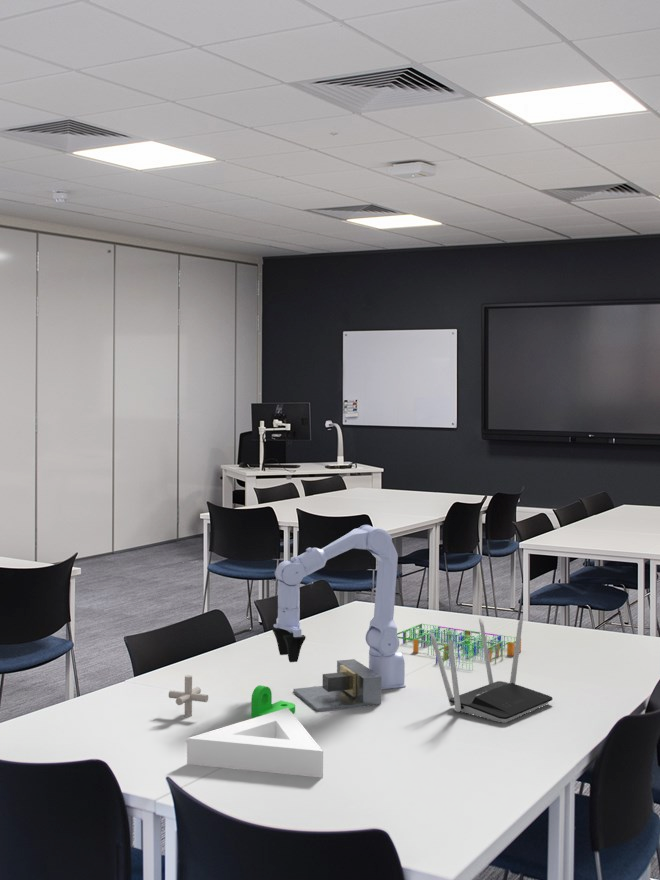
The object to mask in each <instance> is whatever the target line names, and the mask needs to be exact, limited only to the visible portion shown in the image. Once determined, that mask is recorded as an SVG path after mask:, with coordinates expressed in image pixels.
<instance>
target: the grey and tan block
mask: <svg viewBox="0 0 660 880" xmlns="http://www.w3.org/2000/svg"><path fill="white" fill-rule="evenodd" d="M322 686H323V688H324V689H325V690H326V691H328V692H332V691H341V690H344V691H346V692H347V693H348V694H350V695H351V696H353V697H356V673H354V672H353V671H351V670H350V669H348V668H347V667H345V666H344V665H340V672H339V673H337V672H332V673H330V672H329V673H322Z"/></svg>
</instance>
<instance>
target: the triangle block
mask: <svg viewBox="0 0 660 880" xmlns="http://www.w3.org/2000/svg"><path fill="white" fill-rule="evenodd" d="M186 754H187V755H186V764H187V765H193V766H203V767H204V766H205V767H214V768H223V769H235V770H244V771H253V772H264V773H272V774H273V773H275V774H283V775H284V774H285V775H293V776H303V777H304V776H305V777H314V778H315V777H316V778H322V779H323V778H324V750H323V749H322V748H321V747H320V745H319V744H318V743H317V742H316V741H315V739H314V738H313V737H312V736H311V734H310V733H309V732H308V730H307V729H306V728H305V727H304V726H303V724H302V723H301V722H300V721H299V720H298V718H297V717H296V716H295V714H293V713H292V712H291V711H290V710H289V708H285V709H282V710H279V711H275V712H272V713H269V714H265V715H262V716H259V717H256V718H252V719H251V718H249V719H246V720H243V721H239V722H236V723H233V724H229V725H226V726H222V727H221V728H216V729H214V730H210V731H206V732H203V733H199V734H197V735H193V736H191V737H187V738H186Z"/></svg>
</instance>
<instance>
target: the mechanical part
mask: <svg viewBox="0 0 660 880" xmlns="http://www.w3.org/2000/svg"><path fill="white" fill-rule="evenodd" d="M251 693H252V694H251V698H250V699H251V700H250V701H251V702H250V703H251V704H250V705H251V711H250V713H251V714H250V715H251V717H250V719H252V718H256V717H259V716H262V715H265V714H269V713H272V712H275V711H279V710H282V709H285V708H289V710H290V711H291V712H292V713H293V715H295V714H296V705H295V703H292V702H289V701H285V700H278V701H276V702H272V695H273V693H272V689H271V688H270V687H269V686H265V685H259V684H258V685H257V686H256V687H255V688H254V689H253V691H252V692H251Z"/></svg>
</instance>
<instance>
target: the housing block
mask: <svg viewBox="0 0 660 880" xmlns="http://www.w3.org/2000/svg"><path fill="white" fill-rule="evenodd" d="M336 662H337V663H336V673H339V672H340V665H344V666H345V667H347V668H348V669H350V670H351V671H353V672H354V673H356V697H353V696H351V695H350V694H348V693H347V692H346V691H344V690H341V691H332V692H328V691H326V690H325V689H324V688H323V685H317V686H310V687H309V686H308V687H298V688H293V693H294V694H295V695H296V696H298V698H300V699H301V700H303V702H305V703H306V704H307V705H308V706H310V707H311V708H312V709H313V710H314V711H316V712H318V713H321V712H329V711H336V710H337V711H338V710H346V709H355V708H362V707H363V708H365V707H373V705H374V706H380V705H379V704H381V705H382V689H381V676H380V675H378V674H377V673H375V672H374V671H372V670H370V669H369V667H367V666H366V665H364V664H362V663H361V662H359V661H358V660H356V659H355V658H352V659H343V660H336ZM364 706H365V707H364Z"/></svg>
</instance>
